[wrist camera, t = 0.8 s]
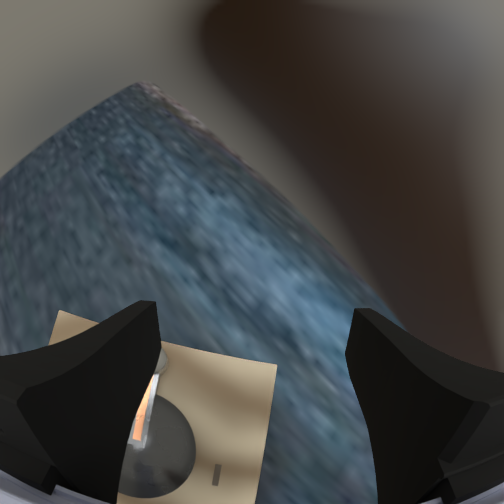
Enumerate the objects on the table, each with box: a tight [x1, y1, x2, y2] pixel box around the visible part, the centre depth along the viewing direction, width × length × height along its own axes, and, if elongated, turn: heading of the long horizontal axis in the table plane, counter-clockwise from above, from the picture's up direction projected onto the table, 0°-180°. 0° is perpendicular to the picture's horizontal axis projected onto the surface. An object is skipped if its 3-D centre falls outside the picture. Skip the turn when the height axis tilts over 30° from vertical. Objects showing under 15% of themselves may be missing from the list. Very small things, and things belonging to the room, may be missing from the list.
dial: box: [118, 348, 196, 498], centre depth 20 cm, size 13×9×3 cm
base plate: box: [49, 310, 277, 504], centre depth 21 cm, size 18×20×2 cm
